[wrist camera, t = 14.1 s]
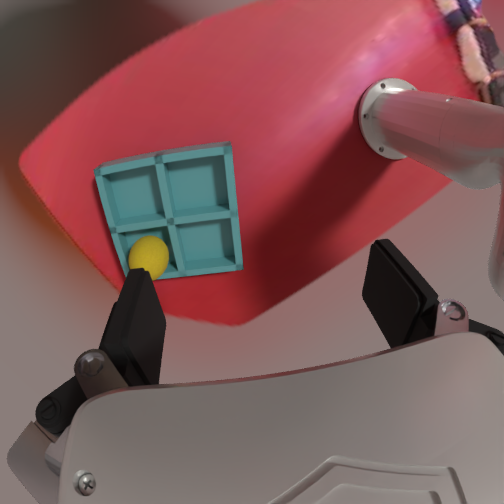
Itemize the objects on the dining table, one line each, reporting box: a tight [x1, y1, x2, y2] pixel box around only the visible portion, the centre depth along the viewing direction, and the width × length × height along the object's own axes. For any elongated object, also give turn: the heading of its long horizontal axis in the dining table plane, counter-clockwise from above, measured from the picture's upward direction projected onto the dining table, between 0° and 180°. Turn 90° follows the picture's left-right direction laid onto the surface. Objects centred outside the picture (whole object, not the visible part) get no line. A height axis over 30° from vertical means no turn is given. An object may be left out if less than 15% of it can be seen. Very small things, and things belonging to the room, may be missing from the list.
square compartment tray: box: [94, 141, 244, 279], centre depth 38 cm, size 18×18×4 cm
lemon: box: [129, 235, 169, 281], centre depth 37 cm, size 6×6×8 cm
